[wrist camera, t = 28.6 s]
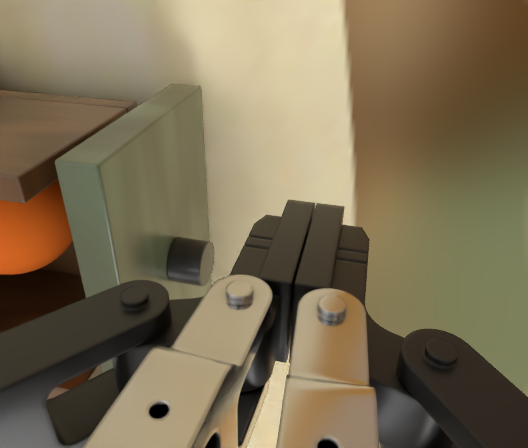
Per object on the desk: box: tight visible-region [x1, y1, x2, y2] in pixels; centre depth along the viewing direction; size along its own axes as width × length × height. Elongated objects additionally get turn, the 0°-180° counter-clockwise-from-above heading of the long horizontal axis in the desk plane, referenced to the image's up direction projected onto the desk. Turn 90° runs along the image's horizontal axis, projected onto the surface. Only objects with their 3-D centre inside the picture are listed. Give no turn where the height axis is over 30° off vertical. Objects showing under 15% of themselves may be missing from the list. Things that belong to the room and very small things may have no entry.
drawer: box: [0, 84, 214, 399], centre depth 18 cm, size 14×10×7 cm
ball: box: [0, 180, 73, 275], centre depth 18 cm, size 5×5×5 cm
